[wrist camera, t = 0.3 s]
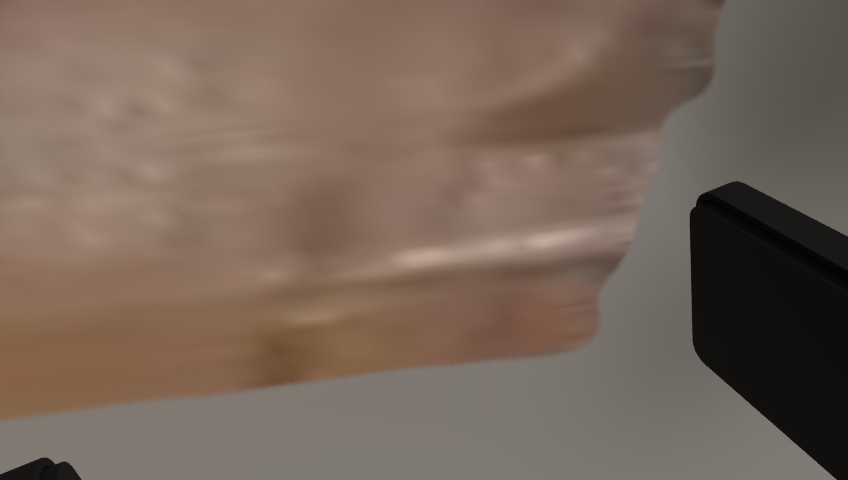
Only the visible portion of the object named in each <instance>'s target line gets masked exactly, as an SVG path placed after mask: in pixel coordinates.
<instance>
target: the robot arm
mask: <svg viewBox="0 0 848 480" xmlns="http://www.w3.org/2000/svg"><path fill="white" fill-rule="evenodd" d="M690 248H691V249H690V250H691V292H692V331H693V332H692V334H693V345H694V348H695V351H696V353H697V355H698V356H699V358H700V359H701V361H702V362H703V363H705V365H706V366H708V367H709V368H710V369H711V370H712V371H714V373H716V374H717V375H718V376H719V377H720V378H721V379H723V380H724V381H725V382H726V383H727V384H728V385H729V386H730V387H732V388H733V389H734V390H735V391H736V392H737V393H738V394H740V395H741V396H742V397H743V398H744V399H745V400H746V401H748V402H749V403H750V404H751V405H752V406H753V407H754V408H756V409H757V410H758V411H759V412H760V413H761V414H762V415H764V416H765V417H766V418H767V419H768V420H769V421H770V422H772V423H773V424H774V425H775V426H776V427H777V428H778V429H780V430H781V431H782V432H783V433H784V434H785V435H786V436H788V437H789V438H790V439H791V440H792V441H793V442H794V443H796V444H797V445H798V446H799V447H800V448H801V449H802V450H804V451H805V452H806V453H807V454H808V455H809V456H810V457H812V458H813V459H814V460H815V461H816V462H817V463H818V464H820V465H821V466H822V467H823V468H824V469H825V470H826V471H828V472H829V473H830V474H831V475H832V476H833V477H834V478H836V479H837V480H848V237H847V236H846V235H843V234H842V233H840V232H838V231H836V230H834V229H832V228H830V227H828V226H826V225H824V224H822V223H820V222H818V221H816V220H814V219H812V218H811V217H809V216H807V215H805V214H803V213H801V212H799V211H797V210H795V209H793V208H791V207H789V206H787V205H785V204H783V203H781V202H779V201H777V200H776V199H774V198H772V197H770V196H768V195H766V194H764V193H762V192H760V191H758V190H756V189H754V188H752V187H750V186H748V185H746V184H744V183H742V182H739V181H736V182H731V183H728V184H726V185H723V186H721V187H718V188H716V189H713V190H711V191H708V192H706V193H703V194H702V195H700V196H699V198H698V200H697V203H696V207H694V208H693V209H692V210H691V213H690ZM0 480H81V478H80V477H79V476H78V474H77V473H76V471H75V470H74V468H73V467H72V466H71V465H70V464H69V463H67V462H61V463H59V464H56V465H55V464H54V462H53V461H51V460H50V459H48V458H40V459H38V460H35V461H33V462H30V463H28V464H25V465H23V466H20V467H18V468H15V469H13V470H10V471H8V472H5V473H3V474H0Z"/></svg>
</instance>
